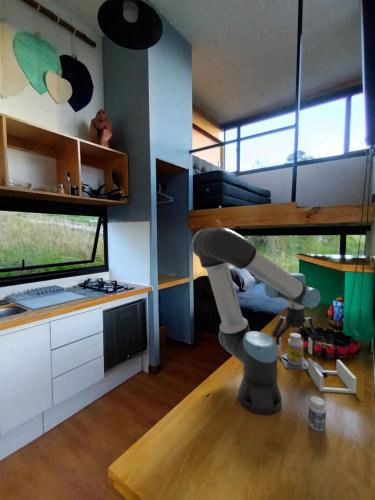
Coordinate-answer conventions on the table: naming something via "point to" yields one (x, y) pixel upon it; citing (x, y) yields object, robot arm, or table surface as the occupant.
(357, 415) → the table surface
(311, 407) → the pill bottle
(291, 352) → the supplement bottle
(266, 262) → the robot arm
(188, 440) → the table surface
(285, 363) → the trivet
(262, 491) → the table surface
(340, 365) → the holder
